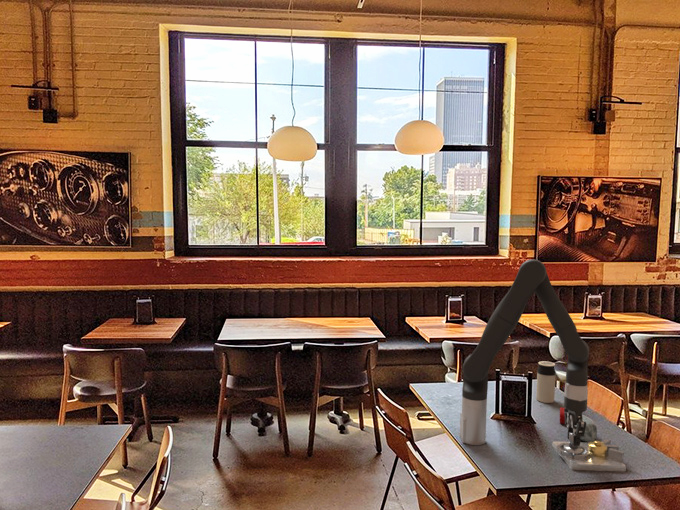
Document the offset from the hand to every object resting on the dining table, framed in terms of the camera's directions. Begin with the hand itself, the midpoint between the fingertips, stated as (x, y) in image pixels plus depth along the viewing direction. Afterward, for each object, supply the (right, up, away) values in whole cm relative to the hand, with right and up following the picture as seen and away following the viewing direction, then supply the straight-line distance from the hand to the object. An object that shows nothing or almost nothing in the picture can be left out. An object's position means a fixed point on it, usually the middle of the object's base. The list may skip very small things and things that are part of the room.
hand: (573, 442), depth 184 cm
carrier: (+5, -6, 0) cm, 8 cm away
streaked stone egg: (+12, -5, +19) cm, 23 cm away
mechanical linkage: (+15, -4, +37) cm, 40 cm away
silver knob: (0, -4, 0) cm, 4 cm away
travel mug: (+14, -2, +60) cm, 61 cm away
